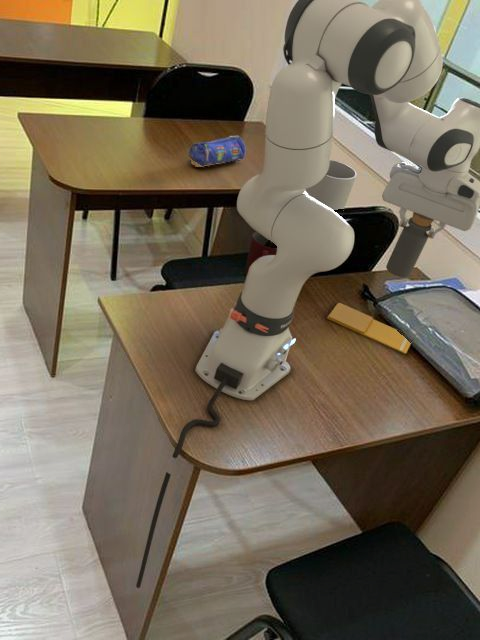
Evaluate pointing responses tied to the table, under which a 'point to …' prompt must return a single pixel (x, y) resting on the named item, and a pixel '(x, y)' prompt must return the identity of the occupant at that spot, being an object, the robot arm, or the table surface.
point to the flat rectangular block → (369, 327)
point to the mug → (258, 249)
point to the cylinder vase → (334, 186)
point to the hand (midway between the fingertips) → (416, 231)
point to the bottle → (409, 245)
